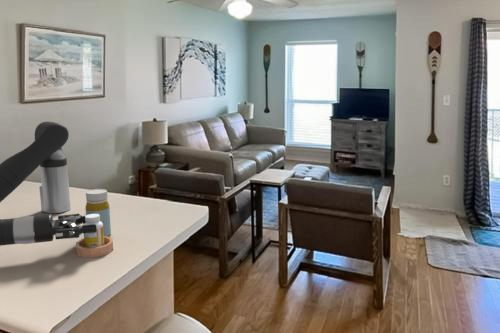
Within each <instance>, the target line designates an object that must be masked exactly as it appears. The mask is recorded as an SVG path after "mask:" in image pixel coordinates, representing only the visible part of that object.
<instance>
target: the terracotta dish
mask: <svg viewBox="0 0 500 333" xmlns="http://www.w3.org/2000/svg"><path fill="white" fill-rule="evenodd" d="M75 250H76V251H75V253H76V255H77V256H79V257H81V258H96V257H102V256H105V255H108V254H110V253H112V252H113V251H114V241H113V238H112V237H111V236H110V237H107V236H104V246H100V247H94V248H85V244H84V238H82V239H80V240H78V241H76V242H75Z"/></svg>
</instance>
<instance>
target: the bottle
mask: <svg viewBox="0 0 500 333" xmlns="http://www.w3.org/2000/svg"><path fill="white" fill-rule="evenodd" d="M85 197H86V198H85V200H86V203H85V216H86V215H89V214H99V215H100V220H99V221H101V222H102V223H103V233H104V236H107V237H110V238H111V235H112V229H111V227H112V225H111V214H110V213H111V211H110V210H111V209H110V203H109V201H108V190H107V189H104V188H95V189H89V190H87V191H85Z"/></svg>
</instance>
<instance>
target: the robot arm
mask: <svg viewBox="0 0 500 333" xmlns="http://www.w3.org/2000/svg"><path fill="white" fill-rule="evenodd" d="M69 134H70V132H69V130H68V128H67V127H66V126H65V125H64V124H61V123H59V122H54V121H42V122H40V123H39V124H38V125H37V126H36V127H35V130H34V140H33V142H32V143H30V144H29V145H28V146H27V147H25V148H24V149H22V150H20V151H19V152H17V153H15V154H13V155H11V156H9V157H8V158H6V159H5V160H3V161H2V162H1V163H0V203H1V202H3V201H4V200H5V199H6V198H7V197H8V196H10V195H11V193H13V192H14V191H15V190H16V189H17V188H18V187H19V186H20V185H22V183H23V182H24V181H25V180H26V179H27V178H28V177H29V176H30V175H31V174H32V173H34V171H36V169H37V168H38V167H39V169H40V170H39V171H40V179H41V185H40V186H39V189H38V190H39V197H40V209H41V212H44V213H46V214H39V215H38V214H36V215H26V216H19V217H14V218H3V219H0V246H1V247H2V246H10V245H28V244H29V245H30V244H36V243H47V242H48V243H49V242H53V240H54V236H55V240H65V239H66V240H67V239H76V238H77V239H78V238H80V236H82V234H83V235H84V233H93V232H96V231H97V229H96V224H90V225H84V224H85V223H86V221H85V216H86V215H82V214H80V213H72V214H62V215H60V214H61V213H65V212H68V211H70V210H71V197H70V195H71V194H70V186H69V185H70V184H69V183H70V182H69V173H68V172H69V169H68V158H67V156H66V155H65V153H64V152H63V149H62V147H64V146H65V145H66V143H67V141H68V139H69V136H70V135H69ZM52 214H59V215H58V216H57V219H55V220H54V219H53V218H54V217H53V215H52Z"/></svg>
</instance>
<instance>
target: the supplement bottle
mask: <svg viewBox="0 0 500 333" xmlns="http://www.w3.org/2000/svg"><path fill="white" fill-rule="evenodd" d="M84 216H85V221H86V223H85V224H83V225H90V224H96V229H97V231H96V232H93V233H84V234H83V239H84V244H85V248H94V247H100V246H104V233H103V223H102V222H101V221H99V220H100V215H99V214H89V215H86V214H85V215H84Z"/></svg>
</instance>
